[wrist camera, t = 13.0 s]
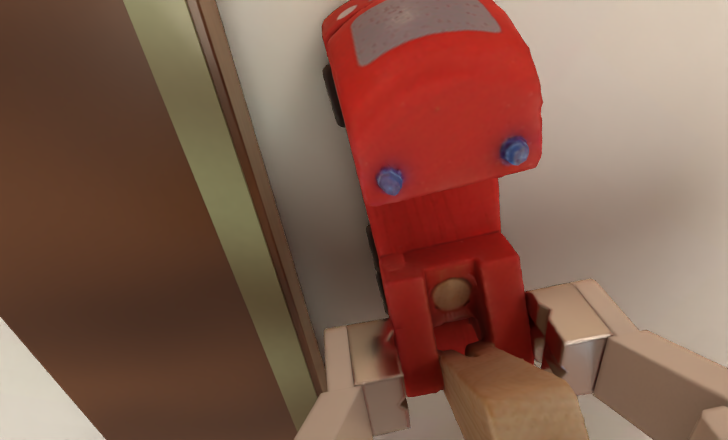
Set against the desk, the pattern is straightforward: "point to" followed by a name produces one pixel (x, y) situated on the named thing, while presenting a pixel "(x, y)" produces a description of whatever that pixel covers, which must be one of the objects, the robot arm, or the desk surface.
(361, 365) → the robot arm
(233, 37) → the desk surface
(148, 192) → the board
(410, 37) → the toy fire truck
